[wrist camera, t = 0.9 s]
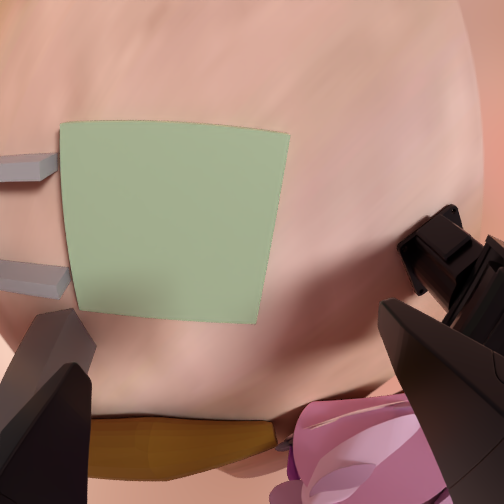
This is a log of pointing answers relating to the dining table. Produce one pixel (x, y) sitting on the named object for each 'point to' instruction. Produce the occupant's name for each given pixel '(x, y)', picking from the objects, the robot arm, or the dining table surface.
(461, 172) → the dining table surface
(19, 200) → the dining table surface
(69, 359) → the chute block
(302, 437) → the flower arrangement
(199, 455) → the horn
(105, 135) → the two-tone flat tray
